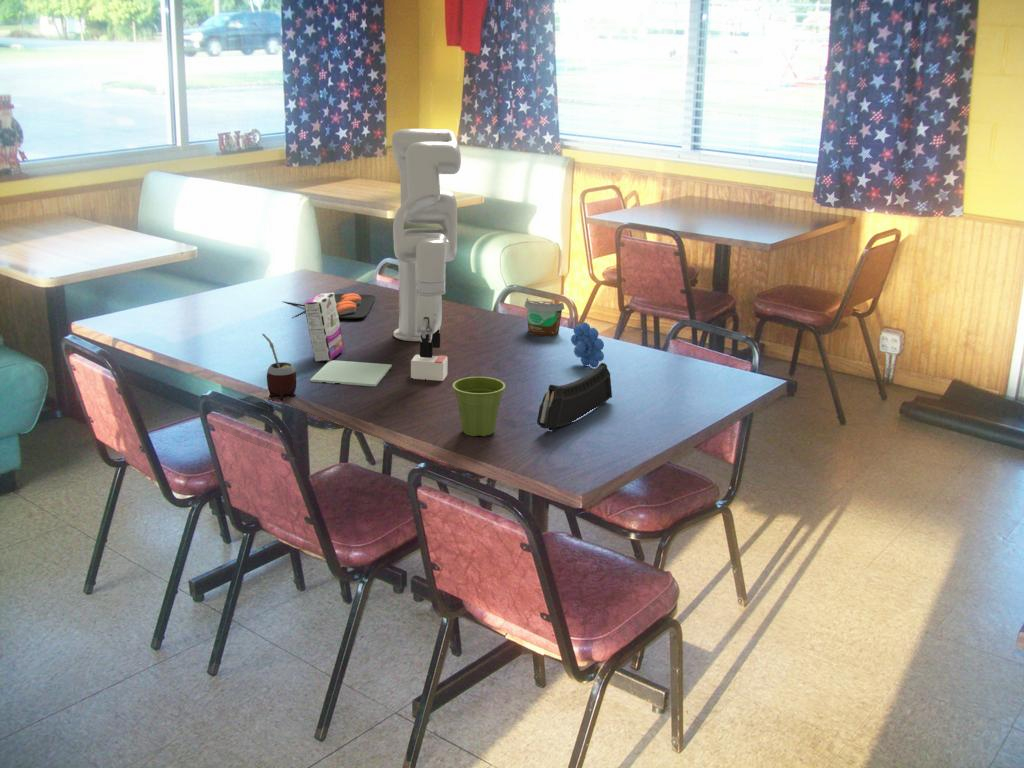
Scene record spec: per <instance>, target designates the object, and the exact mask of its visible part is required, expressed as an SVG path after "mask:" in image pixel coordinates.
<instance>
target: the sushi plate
mask: <svg viewBox="0 0 1024 768" xmlns="http://www.w3.org/2000/svg"><path fill="white" fill-rule="evenodd" d="M335 299H336V305H337V310H338V316H339V318H340V319H342V320H353V319H364V318H365V317H366V316H367V315H368V314H369V312H370V310H371V308H372V306H373V304H374V302H375V300H376V295H374V294H362V293H361V294H360V293H358V294H357V293H352V292H350V293H335ZM282 303H284V304H288V305H291V306H299V307H305V306H304V304H302V303H296V302H289V301H282ZM303 313H304V314H306V311H305V310H304V311H302V312H299V313H298V314H296V315H294V316H293V317H291V319H295V318H297V317H299V315H300V316H301V314H302V315H304V314H303ZM294 317H295V318H294ZM340 319H339V320H340Z"/></svg>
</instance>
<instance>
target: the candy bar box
mask: <svg viewBox="0 0 1024 768" xmlns="http://www.w3.org/2000/svg"><path fill="white" fill-rule="evenodd" d="M335 294H336V293H335V292H324V293H323V292H322V293H318V294H317V295H315V296H314V297H312V298H311V299H309V300H307V301H306V302H304V303H303V305H304V306H303V307H304V311H306V313H305V317H306V320H307V327H308V333H309V337H310V342H311V348H312V352H313V353H312V354H313V359H314V362H329V361H331V360H333V359H335V358H336V357H337V356H338V355H340V354H341V353H342V352H343V351H344V350H345V345H344V340H343V333H342V329H341V328H342V327H341V322H340V319H339V316H338V310H337V305H336V299H335Z"/></svg>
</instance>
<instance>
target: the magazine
mask: <svg viewBox="0 0 1024 768" xmlns="http://www.w3.org/2000/svg"><path fill="white" fill-rule="evenodd" d="M547 389H548V390H547V391H546V393H544V396H543V397H542V401H541V403H540V405H539V409H538V414H537V415H538V416H537V419H536V423H537V425H538V426H540V428H542V429H547V430H548V429H549V430H553V431H554V429H557V428H560V427H563V426H566V425H567V426H568V425H570V424H569V423H571V422H572V421H574V420H576V419H577V418H579V417H581V416H583V415H584V414H586V413H587V412H589V411H590V410H592V409H594V408H596V407H598V406H600V405H601V406H602V405H603V404H605V403H606V402H607V401H609V400H610V399H611V398H613V391H612V380H611V372H610V371H609V369H608V365H607V364H606V363H605V362H600V363H599V364H598V366H597V367H595V369H593V370H592V371H590V372H589V373H588V374H585V375H584V376H583V377H581V378H579V379H577V380H574V381H572V382H569V383H567V384H562V385H555V384H549V386H548V388H547ZM601 406H600V407H601ZM598 408H599V407H598ZM571 424H572V423H571Z"/></svg>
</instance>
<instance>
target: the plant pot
mask: <svg viewBox="0 0 1024 768" xmlns="http://www.w3.org/2000/svg"><path fill="white" fill-rule="evenodd" d="M451 386H452V389H454V393H455V397H456V398H457V403H458V410H459V416H460V423H461V428H462V429H461V430H462V432H463V433H464V434H465V435H466V436H467V435H468V436H470V437H477V436H481V437H487V435H488V436H491V435H492V434H494V433H495V429H496V425H497V424H496V423H497V419H498V413H499V407H500V402H501V398H502V395H503V392H504V389H505V388H506V384H505V382H503V381H502V380H500V379H498V378H494V377H489V376H469V377H464V378H459V379H457V380H456V381H454V382H453V383H452V385H451Z"/></svg>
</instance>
